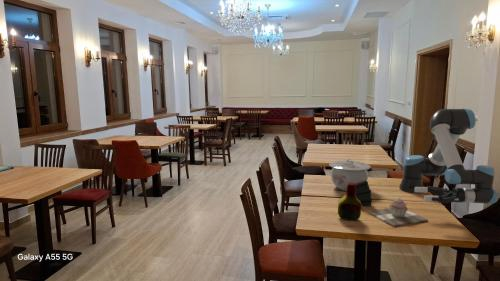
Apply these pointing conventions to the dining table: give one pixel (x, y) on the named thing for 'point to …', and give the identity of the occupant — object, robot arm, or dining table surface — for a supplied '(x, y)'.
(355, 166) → the chamber pot
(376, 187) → the dining table surface
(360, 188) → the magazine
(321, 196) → the dining table surface
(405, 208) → the cupcake
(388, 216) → the checkered cloth napkin
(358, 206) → the bottle
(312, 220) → the dining table surface
